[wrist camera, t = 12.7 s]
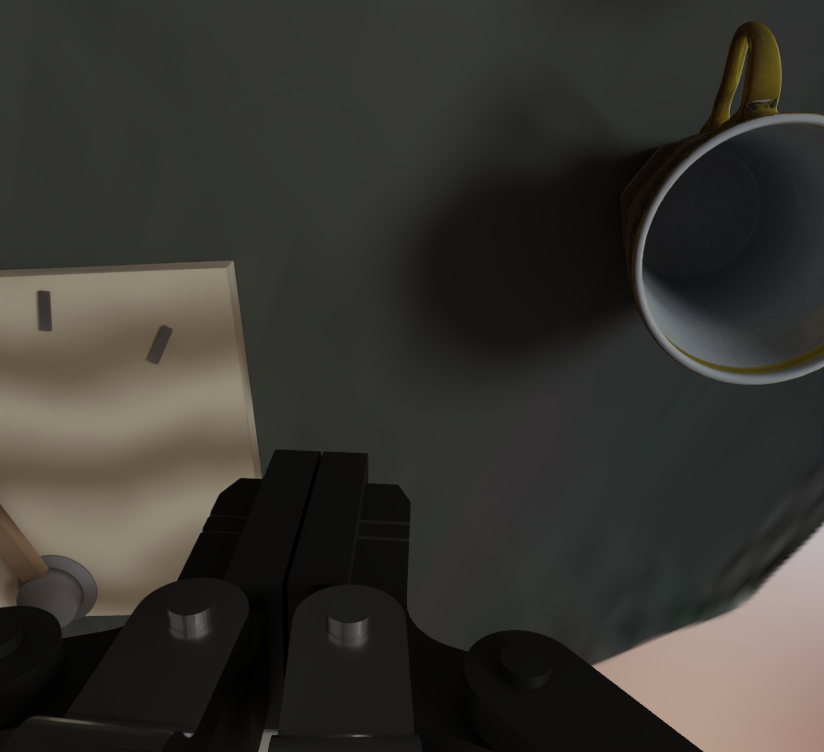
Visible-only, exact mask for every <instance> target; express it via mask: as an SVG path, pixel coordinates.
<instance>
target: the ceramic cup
mask: <svg viewBox="0 0 824 752" xmlns="http://www.w3.org/2000/svg"><path fill="white" fill-rule="evenodd" d="M747 49H748V59H747V67H746V74H745V82H744V89H743V96H742V102H741V106H740V108H739V110H738V111H737V112H736V113H735V114H734V115H733V116H732V117H731V118H730V114H729V112H730V105H731V101H732V98H733V96H734V93H735V91H736V88H737V86H738V83H739V79H740V76H741V72H742V68H743V64H744V60H745V56H746V52H747ZM781 79H782V70H781V61H780V55H779V50H778V46H777V43H776V40H775V38H774V36H773V34H772V33H771V31H770V30H769V29H768V28H767V27H766V26H765V25H764V24H762V23H760V22H757V21H751V22H747V23H744V24H743V25H741V26H740V27H739V28H738V29H737V31H736V32H735V34H734V36H733V39H732V42H731V44H730V48H729V52H728V56H727V60H726V65H725V69H724V73H723V78H722V81H721V85H720V88H719V91H718V94H717V96H716V99H715V102H714V106H713V110H712V114H711V116H710V118H709V120H708V121H707V123H706V124H705V125H704V126H703V127H702V129H701V131H700V133H699V134H698V135H694V136H691V137H688V138H685V139H683V140H680V141H678V142H675V143H671V144H667V145H662V146H660V147H659V148H658V149H657V150H656V151H655V152H654V153H653V155H652V156H651V157H650V158H649V159H648V161H647V162H646V163H645V164H644V166H643V167H642V168H641V169H640V170H639V172H638V173H637V174H636V175H635V177H634V178H633V179H632V180H631V181H630V183H629V184H628V185H627V186H626V188H625V189H624V190H623V192H622V193H621V213H622V230H623V245H624V252H625V256H626V259H627V269H628V277H629V282H630V287H631V291H632V295H633V299H634V302H635V304H636V307H637V310H638V312H639V314H640V316H641V318H642V320H643V322H644V324H645V326H646V328H647V329H648V331H649V332H650V334H651V335H652V337H653V338H654V340H655V341H656V342H657V343H658V345H659V346H660V347H661V348H662V349H663V350H664V351H665V352H666V353H667V354H668V355H669V356H671V357H672V358H673V359H674V360H676V361H677V362H678V363H680V364H681V365H683V366H684V367H686V368H688V369H690V370H691V371H693V372H695V373H697V374H700V375H702V376H705V377H708V378H711V379H714V380H717V381H721V382H725V383H733V384H740V385H761V384H771V383H777V382H782V381H786V380H790V379H794V378H797V377H801V376H803V375H806V374H808V373H811V372H813V371H816V370H818V369H820V368H822V367H824V115H822V114H815V113H806V112H786V113H779V112H777V104H778V100H779V96H780V90H781Z"/></svg>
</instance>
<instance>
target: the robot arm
mask: <svg viewBox="0 0 824 752" xmlns="http://www.w3.org/2000/svg"><path fill="white" fill-rule="evenodd" d="M410 504H411V502H410V501H409V499H408V498H407V496H406V495H405V494H404V492H403V491H402V489H401V488H400V487H399V485H391V484H369V483H368V453H346V452H323V454H322V456H321V452H320V451H299V450H275V451H274V453H273V456H272V458H271V461H270V463H269V466H268V468H267V471H266V473H265V476H264V478H263V479H257V478H240V479H238V480H237V481H236V482H234V483H233V484H232V485H230V486H229V487H228V488H226V489H225V490H224V491H222V492H221V493H220V494H219V496H218V498H217V500H216V502H215V504H214V506H213V508H212V510H211V512H210V517H208V518H207V520H206V522H205V524H204V526H203V528H202V533H200V535H199V537H198V539H197V541H196V543H195V545H194V547H193V549H192V551H191V553H190V555H189V557H188V559H187V561H186V563H185V565H184V567H183V569H182V572H181V574H180V576H179V578H178V580H177V581H176V582H172V583H169V584H167V585H164V586H162V587H160V588H158V589H156V590H154V591H153V592H151V593H150V594H148V595H147V596H146V597H145V598H144V599H143V600H142V601H141V602H140V603H139V604H138V605H137V607H136V608H135V610H134V611H133V613H132V614H131V616H130V617H129V619H128V620H127V622H126V623H125V625H124V626H123V627H120V628H116V629H112V630H108V631H103V632H97V633H91V634H86V635H80V636H74V637H68V638H62V633H61V626H60V624H59V621H58V620H57V618H56V617H55V616H54V615H53V614H51V613H50V612H48V611H46V610H43V609H41V608H36V607H32V606H8V607H0V752H258V751H259V747H260V742H261V739H262V735H263V731H264V729H278V735H272V736H271V739H270V743H269V748H268V752H703V751H702V750H700V749H699V748H698V747H697V746H695V745H694V744H692V743H691V742H690V741H689V740H687V739H686V738H685V737H683V736H682V735H681V734H679V733H678V732H677V731H675V730H674V729H673V728H672V727H670V726H669V725H668V724H666V723H665V722H664V721H663V720H661V719H660V718H659V717H657V716H656V715H655V714H653V713H652V712H651V711H649V710H648V709H647V708H646V707H644V706H643V705H642V704H640V703H639V702H638V701H636V700H635V699H634V698H632V697H631V696H630V695H628V694H627V693H626V692H625V691H623V690H622V689H621V688H619V687H618V686H617V685H616V684H614V683H613V682H612V681H610V680H609V679H608V678H606V677H605V676H604V675H602V674H601V673H600V672H599V671H597V670H596V669H595V668H593V667H592V666H591V665H589V664H588V663H587V662H585V661H584V660H583V659H582V658H580V657H579V656H578V655H576V654H575V653H574V652H572V651H571V650H570V649H568V648H567V647H566V646H564V645H563V644H561V643H560V642H558V641H556V640H554V639H552V638H550V637H547V636H545V635H542V634H538V633H534V632H530V631H522V630H508V631H500V632H496V633H492V634H490V635H487V636H485V637H483V638H482V639H480V640H478V641H477V642H476V643H475V644H474V645H473V646H472V647H471V648H470V650H469V651H468V652H467V651H464V650H460V649H457V648H454V647H451V646H448V645H445V644H442V643H440V642H438V641H436V640H434V639H432V638H431V637H429V636H427V635H426V634H425V633H423V632H422V631H421V630H420V629H419V628H418V627H417V626H416V625H415V624H414V622H413V621H412V619H411V617H410V616H409V613H408V610H407V579H408V554H409V529H410Z"/></svg>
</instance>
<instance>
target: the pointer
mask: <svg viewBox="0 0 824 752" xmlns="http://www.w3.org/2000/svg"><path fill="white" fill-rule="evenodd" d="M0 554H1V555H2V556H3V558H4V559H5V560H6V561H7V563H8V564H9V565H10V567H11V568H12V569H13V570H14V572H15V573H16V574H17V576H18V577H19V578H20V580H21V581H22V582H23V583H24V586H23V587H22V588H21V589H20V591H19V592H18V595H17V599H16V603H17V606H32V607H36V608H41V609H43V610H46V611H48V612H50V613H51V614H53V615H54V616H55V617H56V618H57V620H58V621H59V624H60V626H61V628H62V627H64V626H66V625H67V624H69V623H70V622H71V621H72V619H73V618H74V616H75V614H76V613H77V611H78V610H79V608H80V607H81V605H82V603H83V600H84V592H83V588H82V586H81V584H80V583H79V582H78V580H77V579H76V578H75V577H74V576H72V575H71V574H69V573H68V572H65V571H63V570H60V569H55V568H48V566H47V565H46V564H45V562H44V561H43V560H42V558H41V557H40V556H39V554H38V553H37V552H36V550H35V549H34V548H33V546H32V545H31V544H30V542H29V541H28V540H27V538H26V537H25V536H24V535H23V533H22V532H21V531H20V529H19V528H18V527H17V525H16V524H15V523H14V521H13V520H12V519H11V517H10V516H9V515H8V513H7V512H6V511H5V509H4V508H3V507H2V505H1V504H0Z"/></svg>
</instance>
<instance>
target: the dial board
mask: <svg viewBox="0 0 824 752" xmlns="http://www.w3.org/2000/svg"><path fill="white" fill-rule="evenodd" d="M240 478H257V479H262V474H261V467H260V459H259V452H258V444H257V436H256V429H255V421H254V414H253V406H252V398H251V391H250V383H249V376H248V368H247V360H246V353H245V345H244V338H243V330H242V322H241V315H240V307H239V299H238V292H237V284H236V277H235V269H234V261H212V262H187V263H163V264H139V265H115V266H91V267H67V268H43V269H18V270H0V504H1V505H2V507H3V508H4V509H5V511H6V512H7V513H8V515H9V516H10V517H11V519H12V520H13V521H14V523H15V524H16V525H17V527H18V528H19V529H20V531H21V532H22V533H23V535H24V536H25V537H26V538H27V540H28V541H29V542H30V544H31V545H32V546H33V548H34V549H35V550H36V552H37V553H38V554H39V556H40V557H41V558H42V560H43V561H44V562H45V564H46V565H47V566H48V568H55V569H60V570H63V571H65V572H68V573H69V574H71V575H72V576H74V577H75V578H76V579H77V580H78V582H79V583H80V584H81V586H82V588H83V592H84V600H83V603H82V605H81V607H80V608H79V610H78V611H77V613H76V614H75V616H74V618H73V619H72V621H74V620H77V619H80V618H82V617H84V616H105V615H131V614H132V613H133V611H134V610H135V608H136V607H137V605H138V604H139V603H140V602H141V601H142V600H143V599H144V598H145V597H146V596H147V595H148V594H150V593H151V592H153V591H154V590H156V589H158V588H160V587H162V586H164V585H167V584H169V583H172V582H176V581H177V580H178V578H179V576H180V574H181V572H182V569H183V567H184V565H185V563H186V561H187V559H188V557H189V555H190V553H191V551H192V549H193V547H194V545H195V543H196V541H197V539H198V537H199V535H200V533H202V528H203V526H204V524H205V522H206V520H207V518H208V517H210V512H211V510H212V508H213V506H214V504H215V502H216V500H217V498H218V496H219V494H220V493H221V492H222V491H224V490H225V489H226V488H228V487H229V486H230V485H232V484H233V483H234V482H236V481H237V480H238V479H240ZM23 586H24V583H23V582H22V581H21V580H20V578H19V577H18V576H17V574H16V573H15V572H14V570H13V569H12V568H11V567H10V565H9V564H8V563H7V561H6V560H5V559H4V558H3V556H2V555H1V554H0V607H8V606H17V603H16V599H17V595H18V592H19V591H20V589H21V588H22V587H23Z"/></svg>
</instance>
